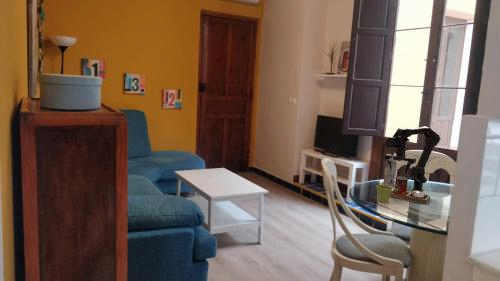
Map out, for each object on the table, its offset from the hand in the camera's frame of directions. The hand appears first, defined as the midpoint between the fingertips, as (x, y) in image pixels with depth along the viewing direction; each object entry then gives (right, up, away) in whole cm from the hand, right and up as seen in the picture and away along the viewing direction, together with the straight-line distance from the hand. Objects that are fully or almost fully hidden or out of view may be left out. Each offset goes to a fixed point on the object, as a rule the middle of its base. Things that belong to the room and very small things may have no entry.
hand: (398, 171), depth 258 cm
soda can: (-3, -15, -9) cm, 17 cm away
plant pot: (-17, -16, -22) cm, 32 cm away
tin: (+6, -16, -15) cm, 23 cm away
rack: (+2, -15, -12) cm, 19 cm away
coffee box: (+2, -10, +23) cm, 25 cm away
